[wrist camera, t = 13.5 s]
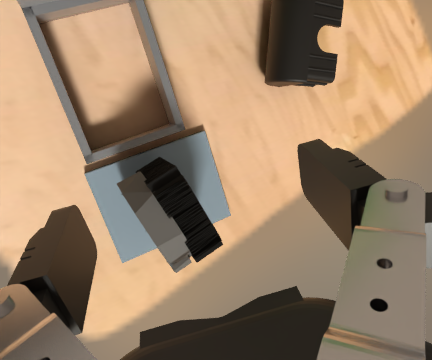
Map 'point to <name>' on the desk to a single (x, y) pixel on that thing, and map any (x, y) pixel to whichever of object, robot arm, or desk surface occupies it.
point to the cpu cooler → (170, 213)
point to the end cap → (300, 42)
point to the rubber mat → (115, 172)
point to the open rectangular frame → (48, 11)
